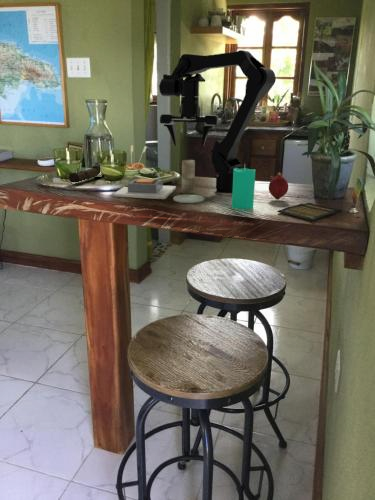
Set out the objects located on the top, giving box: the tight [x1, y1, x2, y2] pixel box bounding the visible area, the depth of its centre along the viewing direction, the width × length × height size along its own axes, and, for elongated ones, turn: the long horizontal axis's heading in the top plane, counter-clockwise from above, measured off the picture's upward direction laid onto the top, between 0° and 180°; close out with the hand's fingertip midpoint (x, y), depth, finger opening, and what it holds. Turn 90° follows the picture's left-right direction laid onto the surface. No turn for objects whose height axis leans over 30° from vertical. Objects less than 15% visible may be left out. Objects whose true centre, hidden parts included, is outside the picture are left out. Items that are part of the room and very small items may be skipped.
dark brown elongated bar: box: [68, 164, 100, 182], centre depth 157 cm, size 19×4×5 cm, turn 154°
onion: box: [268, 172, 289, 200], centre depth 134 cm, size 6×6×8 cm
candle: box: [231, 164, 257, 210], centre depth 124 cm, size 6×6×12 cm
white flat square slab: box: [112, 178, 177, 200], centre depth 141 cm, size 16×16×3 cm
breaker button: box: [136, 178, 156, 184], centre depth 141 cm, size 5×5×1 cm
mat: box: [173, 194, 205, 204], centre depth 133 cm, size 9×9×1 cm
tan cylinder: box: [181, 159, 196, 195], centre depth 141 cm, size 4×4×10 cm
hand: (189, 146), depth 150 cm, fingers open, 9 cm apart
